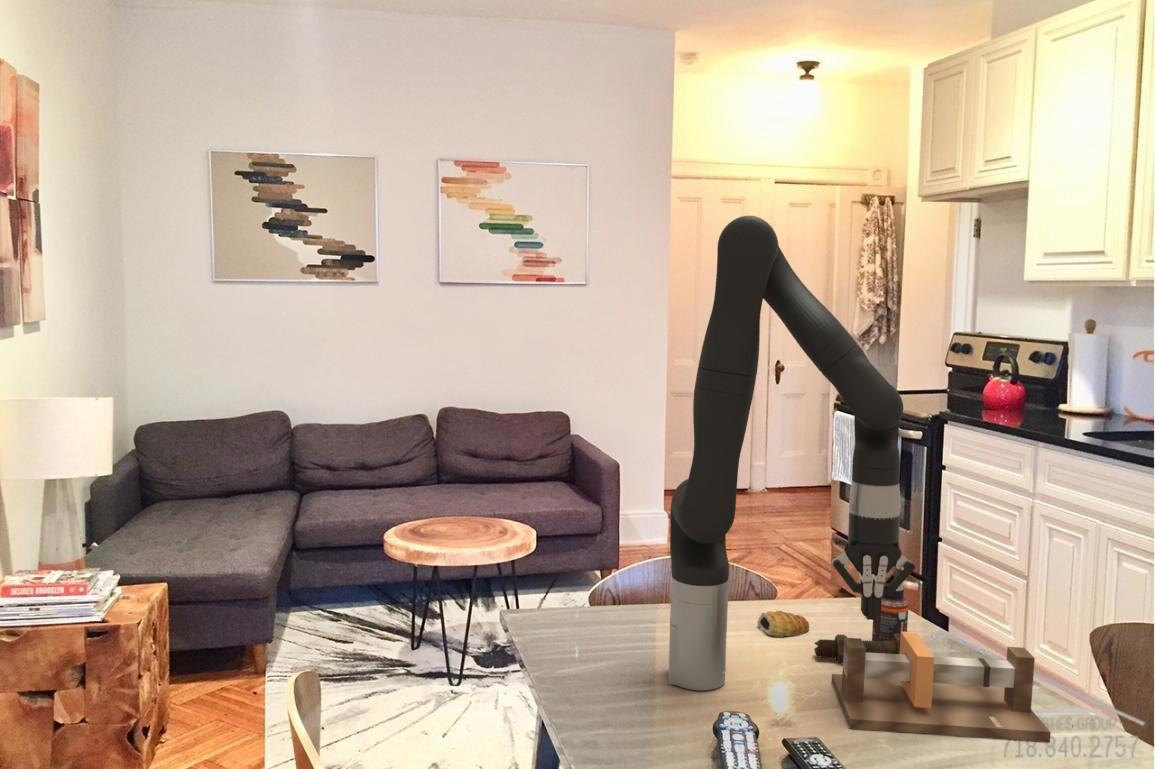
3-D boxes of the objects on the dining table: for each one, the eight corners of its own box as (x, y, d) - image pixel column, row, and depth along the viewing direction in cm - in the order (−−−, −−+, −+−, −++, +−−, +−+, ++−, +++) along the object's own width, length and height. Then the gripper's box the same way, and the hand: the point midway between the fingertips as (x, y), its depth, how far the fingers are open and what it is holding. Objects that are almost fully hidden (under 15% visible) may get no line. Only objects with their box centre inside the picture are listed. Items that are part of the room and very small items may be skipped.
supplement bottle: (910, 654, 162) (914, 592, 161) (877, 653, 162) (880, 591, 161) (899, 641, 168) (903, 581, 167) (867, 640, 168) (870, 581, 167)
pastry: (797, 623, 177) (798, 604, 177) (816, 636, 171) (817, 616, 170) (754, 627, 174) (755, 608, 174) (771, 640, 168) (772, 620, 168)
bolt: (814, 667, 160) (902, 670, 158) (817, 663, 156) (909, 666, 154) (812, 633, 163) (899, 636, 161) (816, 628, 158) (905, 631, 156)
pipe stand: (849, 728, 134) (853, 663, 133) (831, 682, 150) (834, 623, 148) (1049, 741, 131) (1054, 674, 130) (1009, 693, 147) (1013, 633, 146)
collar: (914, 706, 135) (917, 656, 135) (898, 678, 145) (900, 631, 144) (931, 707, 135) (934, 657, 134) (913, 679, 145) (916, 632, 144)
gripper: (911, 505, 145) (907, 611, 147) (826, 503, 146) (823, 608, 148) (925, 517, 137) (920, 628, 139) (835, 515, 139) (831, 625, 140)
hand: (870, 617), depth 143 cm, fingers closed
